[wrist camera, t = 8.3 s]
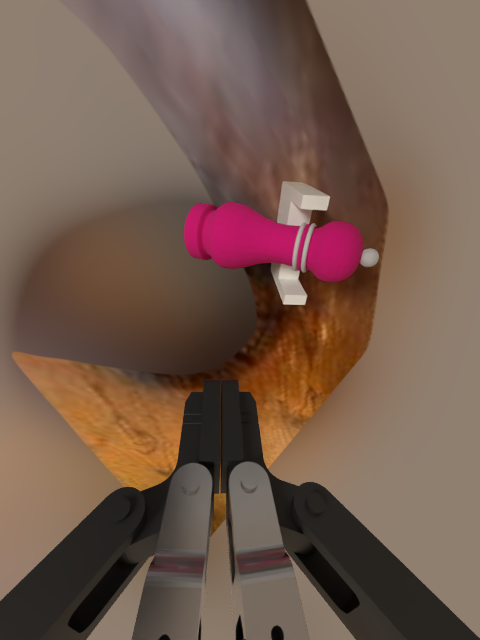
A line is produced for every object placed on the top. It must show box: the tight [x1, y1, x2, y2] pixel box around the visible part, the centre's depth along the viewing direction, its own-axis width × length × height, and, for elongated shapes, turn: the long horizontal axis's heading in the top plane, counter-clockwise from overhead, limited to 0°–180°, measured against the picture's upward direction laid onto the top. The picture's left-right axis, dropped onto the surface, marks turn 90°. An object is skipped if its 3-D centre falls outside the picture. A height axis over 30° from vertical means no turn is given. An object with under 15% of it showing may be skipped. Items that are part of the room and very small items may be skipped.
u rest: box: [270, 181, 330, 305], centre depth 31 cm, size 11×2×10 cm, turn 176°
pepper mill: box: [184, 202, 379, 282], centre depth 29 cm, size 7×7×20 cm
